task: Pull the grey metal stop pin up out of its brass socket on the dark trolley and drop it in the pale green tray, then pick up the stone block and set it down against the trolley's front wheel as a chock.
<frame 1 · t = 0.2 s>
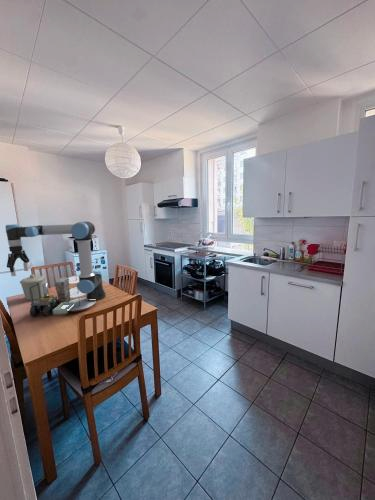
hand: (20, 273, 160), 28 cm above the table, fingers open, 13 cm apart
tray: (64, 310, 159), on the table
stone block: (65, 303, 172), on the table
pin: (47, 299, 155), point 10 cm above the table, touching trolley
trolley: (46, 312, 156), on the table
canister: (35, 297, 185), on the table
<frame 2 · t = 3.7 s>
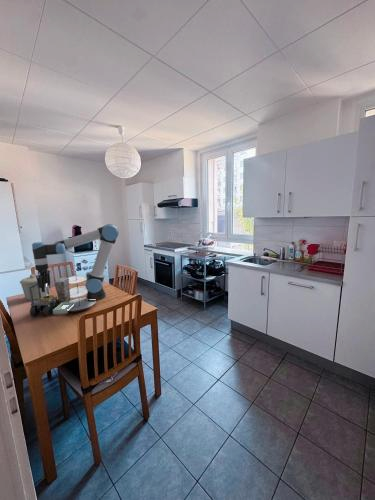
hand: (46, 295, 155), 13 cm above the table, fingers closed on pin, 3 cm apart
pin: (47, 299, 155), point 10 cm above the table, touching gripper, trolley
everything else where it was.
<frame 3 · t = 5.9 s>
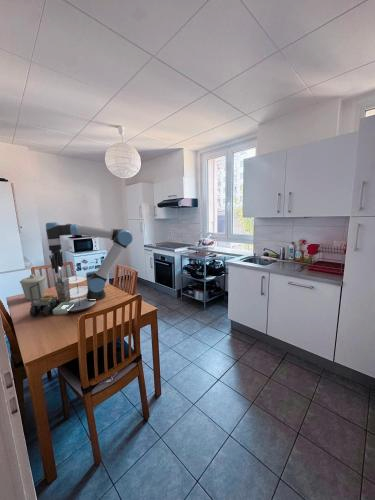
hand: (59, 276, 154), 26 cm above the table, fingers closed on pin, 3 cm apart
pin: (60, 282, 155), point 22 cm above the table, touching gripper
everything else where it was.
when the fingers open (6 cm above the table, at t = 8.3 s): pin stays where it is, resting on tray.
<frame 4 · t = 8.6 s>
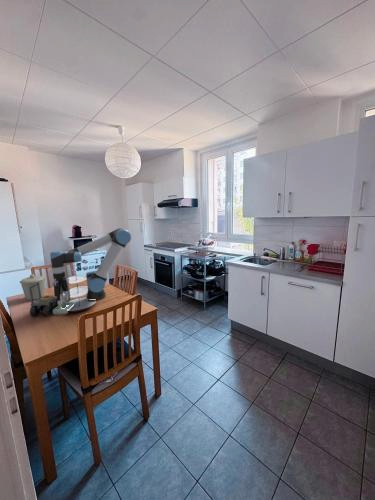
hand: (63, 301, 157), 7 cm above the table, fingers open, 8 cm apart
pin: (64, 308, 158), point 1 cm above the table, touching tray
everything else where it was.
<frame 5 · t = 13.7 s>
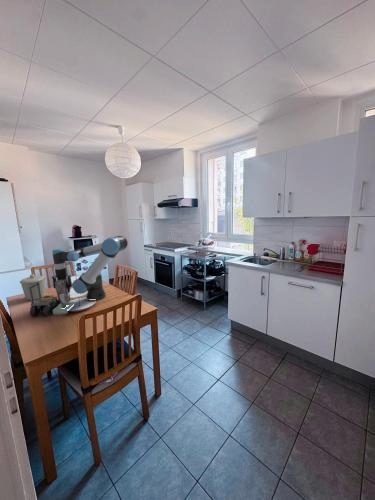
hand: (64, 295, 171), 6 cm above the table, fingers closed on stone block, 6 cm apart
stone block: (65, 302, 172), on the table, touching gripper
everything else where it was.
when the fingers open (7 cm above the table, at t = 18.9 s): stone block drops 1 cm, on the table.
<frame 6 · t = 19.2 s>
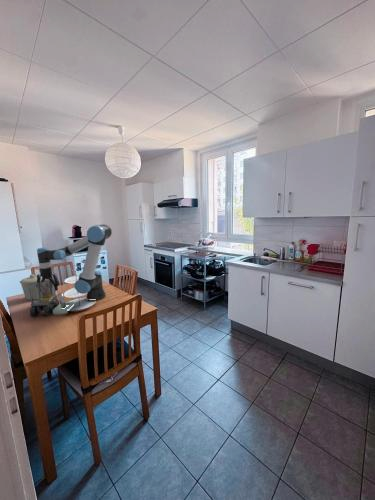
hand: (49, 294, 169), 8 cm above the table, fingers open, 9 cm apart
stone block: (51, 304, 170), on the table
everything else where it was.
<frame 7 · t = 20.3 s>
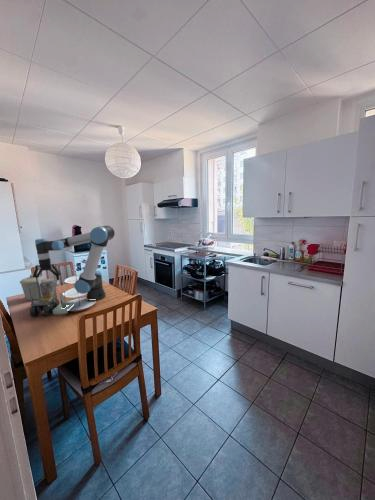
hand: (48, 284, 168), 16 cm above the table, fingers open, 13 cm apart
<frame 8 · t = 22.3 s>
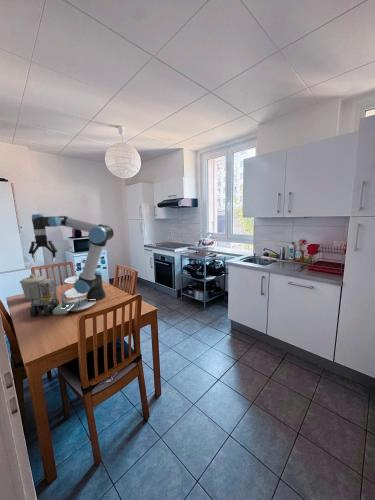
hand: (44, 261, 165), 35 cm above the table, fingers open, 13 cm apart
at the end: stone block inside the target area (0.2 cm from its centre), on the table; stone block tilted 0°; pin inside the target area on the tray (0.0 cm from its centre), point 1.2 cm above the tray's base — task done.
